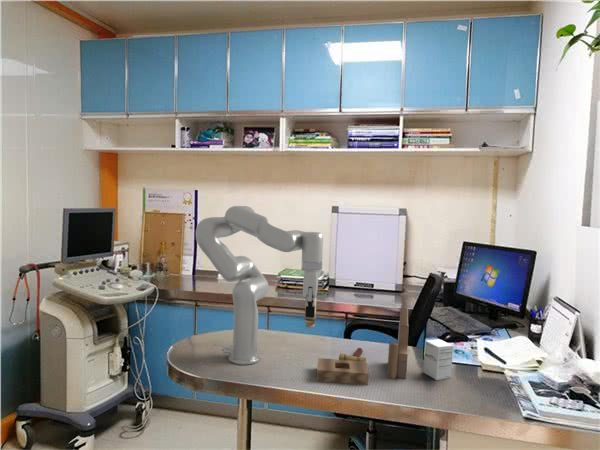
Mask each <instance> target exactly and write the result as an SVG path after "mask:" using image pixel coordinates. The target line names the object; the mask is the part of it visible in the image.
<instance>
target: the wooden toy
mask: <svg viewBox="0 0 600 450" xmlns="http://www.w3.org/2000/svg"><path fill="white" fill-rule="evenodd" d="M398 322H399V323H398V335H397V342H394V341H389V343H388V354H387V355H388V356H387V357H388V358H387V378H388V379H396V378H397V379H407V372H408V369H407V368H408V357H409V355H408V347H409V346H408V342H409V327H410V326H409V308H408V307H407V306H400V313H399V321H398Z"/></svg>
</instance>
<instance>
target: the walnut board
mask: <svg viewBox="0 0 600 450" xmlns="http://www.w3.org/2000/svg"><path fill="white" fill-rule="evenodd" d="M316 369H317V370H316V382H326V383H327V382H328V383H338V384H339V383H340V384H353V385H363V386H364V385H366V386H369V376H370V375H369V369H368V365H367V361H366V362H364V361H350V360H339V359H334V358H323V357H321V358H320V357H318V358H317V368H316Z"/></svg>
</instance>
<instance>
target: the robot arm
mask: <svg viewBox="0 0 600 450" xmlns="http://www.w3.org/2000/svg"><path fill="white" fill-rule="evenodd" d="M241 231H242V232H244V233H246V234H248V235H250V236H253V237H255V238H257V240H259V241H260V242H261V243H263V244H264V245H266V246H267V247H270V248H273V249H275V250H277V251H280V252H283V253H291V252H295V251H301V271H303V280H302V281H303V283H302V298H303V299H305V297H306V296H307V303H306V317H311V318H314V315H315V306H314V299H315V298H316V299H317V294H318V287H319V273H320V272H321V271H323V249H324V248H323V247H324V235H323V233H321V232H319V231H302V230H298V229H294V230H293V229H292V230H288V231H287V230H283V229H282V228H278V227H276V226H274V225H272V224H270V222H269V220H268V218H267V217H266V216H264V215H261V214H259V213H257V212H255V210H254V209H253V208H252V207H250V206H247V205H234V206H231V207H229V208H228V209H227V210H226V211H225V214H224V216H218V217H217V216H216V217H215V216H214V217H212V216H211V217H206V218H203V219H202V220H200V221H199V222H198V224H197V225H196V229H195V241H196V244H197V245H198V247H199V248H200V249H201V251H202V252H203V253H204V255H206V257H207V258H208V260H209V261H210V262H211V264H212V265H213V267H214V268H215V269H216V270H217V272H218V273H219V275H220V276H221V277H222V278H223V280H224V281H226V282H229V283H231V282H232V283H233V282H237V281H238V282H237V283H235V285H234V286H233V289H232V291H231V292H232V303H233V330H232V331H233V333H232V345H230V346H225V345H223V346H222V348H221V351H222V352H223V354H228V359H227V360H228V361H229V362H230V363H232V364H236V365H242V366H243V365H246V366H247V365H252V364H255V363H258V362H259V361H260V360H261V354H260V353H259V352H258V331H259V309H258V305H257V301H259V300H261V299H264V298H265V297H266V296H267V295H268V293H269V291H270V285H269V282H268V280H267V278H266V277H265V276H264V275H263V274H262V271H260V270H259V268H258V267H257V265H256V264H255V263H254V261H252V259H250V258H249V257H247V256H245V255H239V256H238V255H237V256H236V255H234V254H233V253H232V251H231V250H230V249H229V248H228V246H227V245H226V244H224V243H223V242H222V241H221V240H220V238H227V237H231V236H232V235H234V234H237V233H239V232H241ZM312 296H313V298H312ZM312 300H313V301H312Z"/></svg>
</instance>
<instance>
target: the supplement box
mask: <svg viewBox="0 0 600 450" xmlns="http://www.w3.org/2000/svg"><path fill="white" fill-rule="evenodd" d="M453 354H454V345H453V344H451V343H449V342H446V341H444V340H443V339H440V338H436V339H430V340H425V346H424V359H423V373H424V374H425V375H427V376H429V377H431V378H432V379H434V380H435V381H440V380H447V379H450V378H452V368H453V367H452V366H453V357H454V355H453Z"/></svg>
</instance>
